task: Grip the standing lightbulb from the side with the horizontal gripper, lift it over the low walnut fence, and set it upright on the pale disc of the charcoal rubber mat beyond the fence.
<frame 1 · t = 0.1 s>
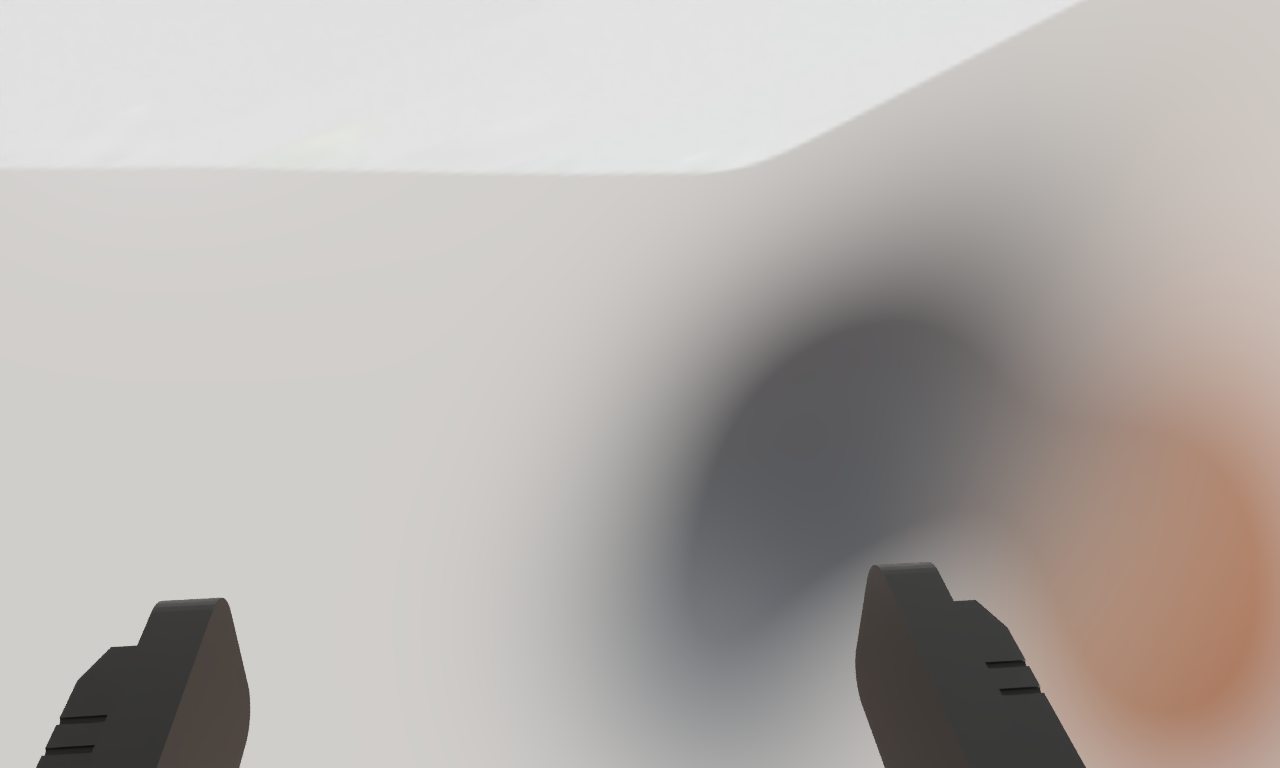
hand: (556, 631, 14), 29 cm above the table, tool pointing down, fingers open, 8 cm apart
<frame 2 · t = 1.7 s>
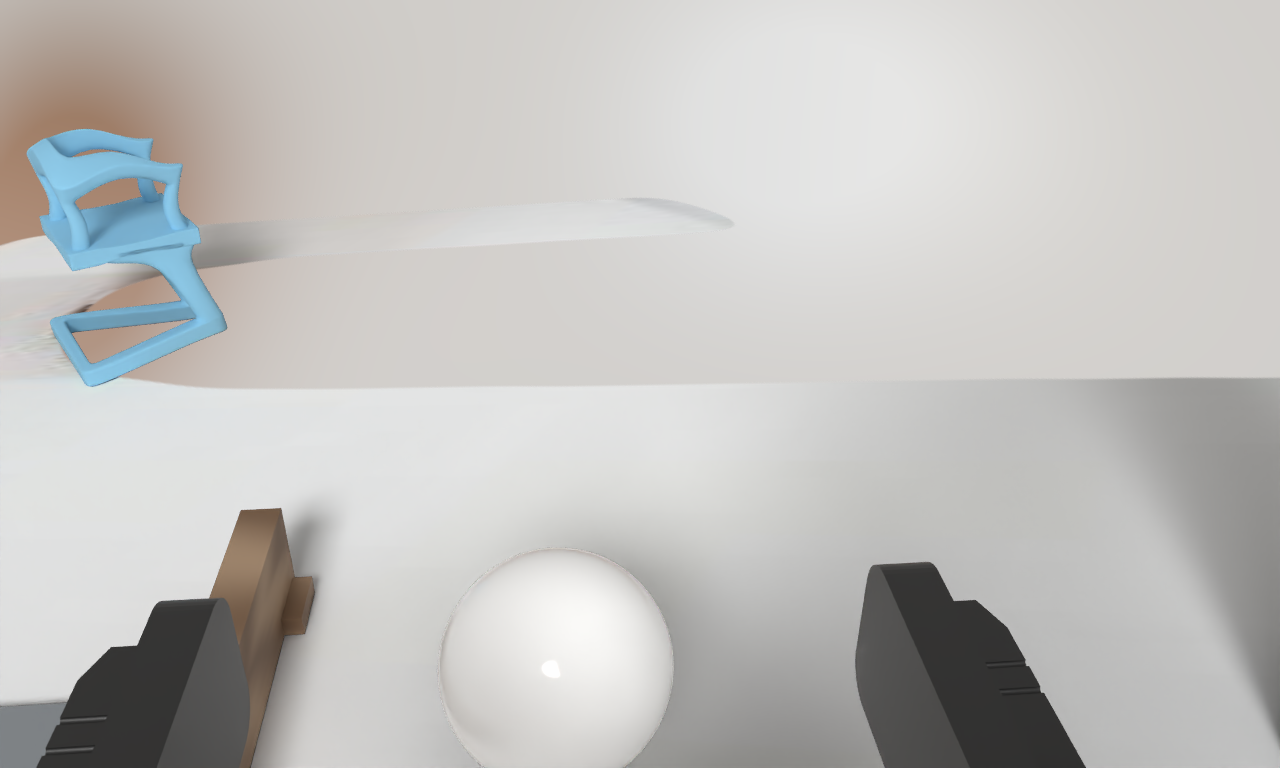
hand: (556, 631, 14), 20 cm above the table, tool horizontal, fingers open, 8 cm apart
chair: (147, 342, 61), on the table
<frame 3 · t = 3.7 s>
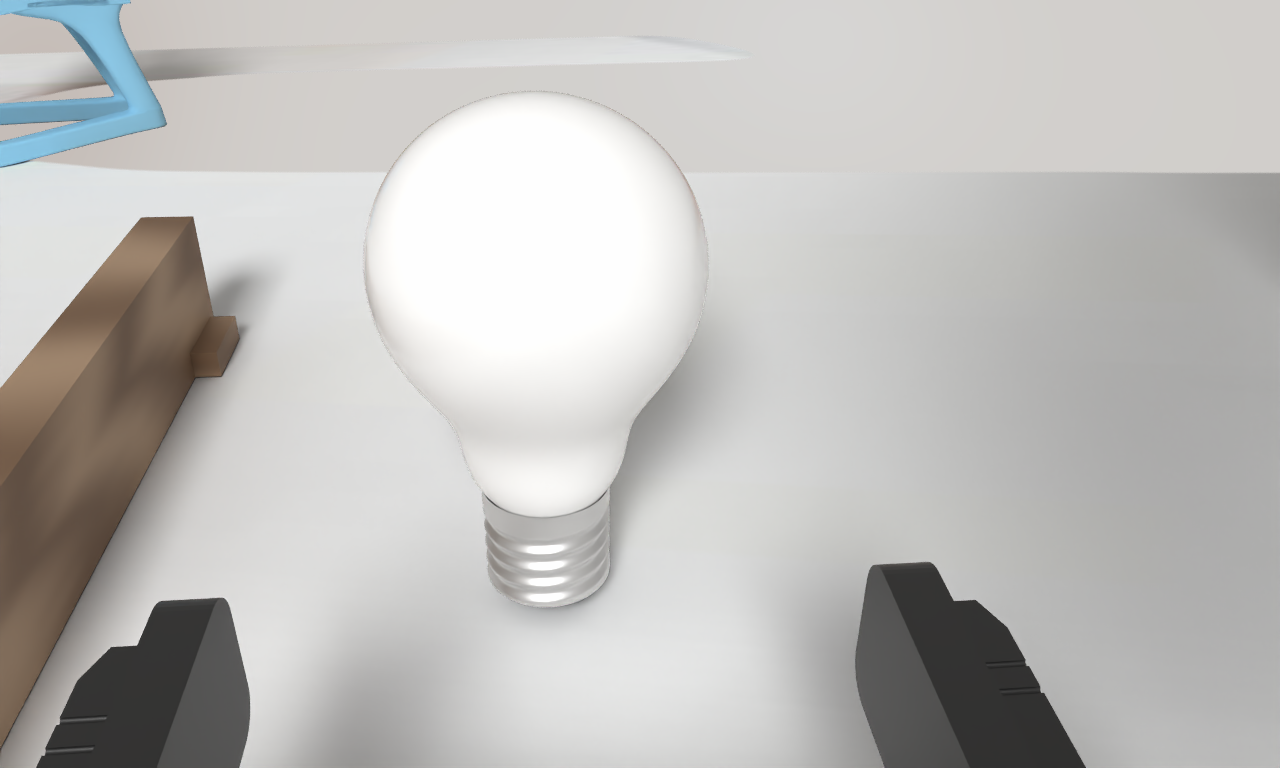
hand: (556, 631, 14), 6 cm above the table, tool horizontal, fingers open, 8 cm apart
walnut fence: (33, 616, 23), on the table
lightbulb: (550, 596, 24), on the table
chair: (72, 136, 52), on the table
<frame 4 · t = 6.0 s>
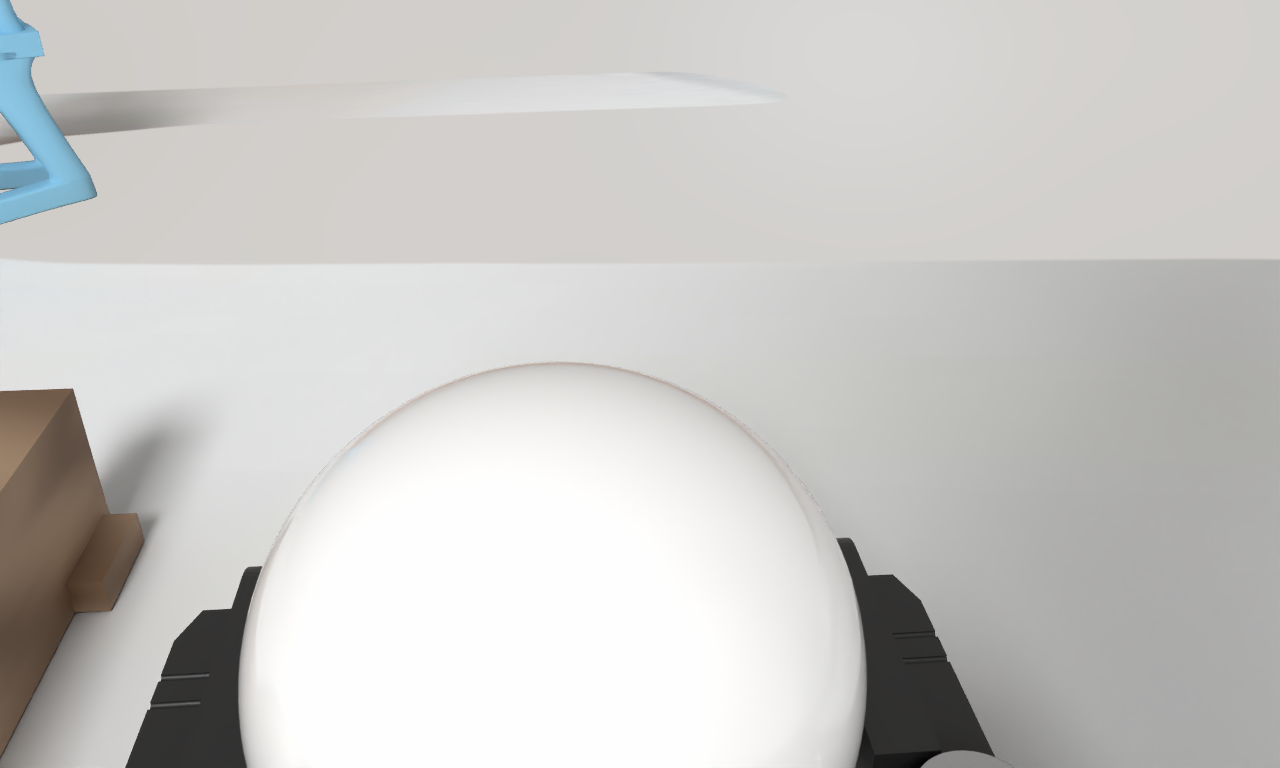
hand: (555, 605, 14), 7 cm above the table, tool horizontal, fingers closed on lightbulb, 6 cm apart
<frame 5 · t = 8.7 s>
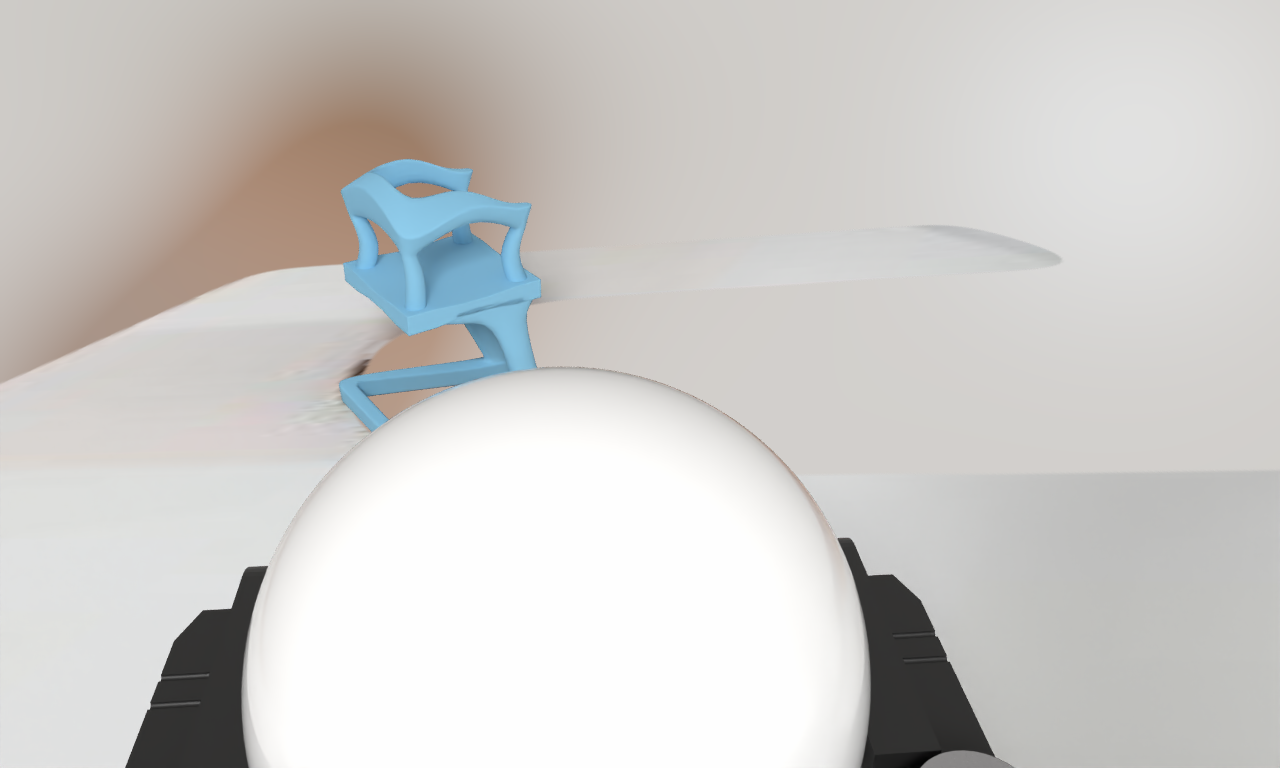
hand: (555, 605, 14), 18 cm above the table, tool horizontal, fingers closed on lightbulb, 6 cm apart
chair: (453, 409, 52), on the table
when the fingers open (8 cm above the table, at t = 11.4 s): lightbulb stays where it is, resting on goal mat.
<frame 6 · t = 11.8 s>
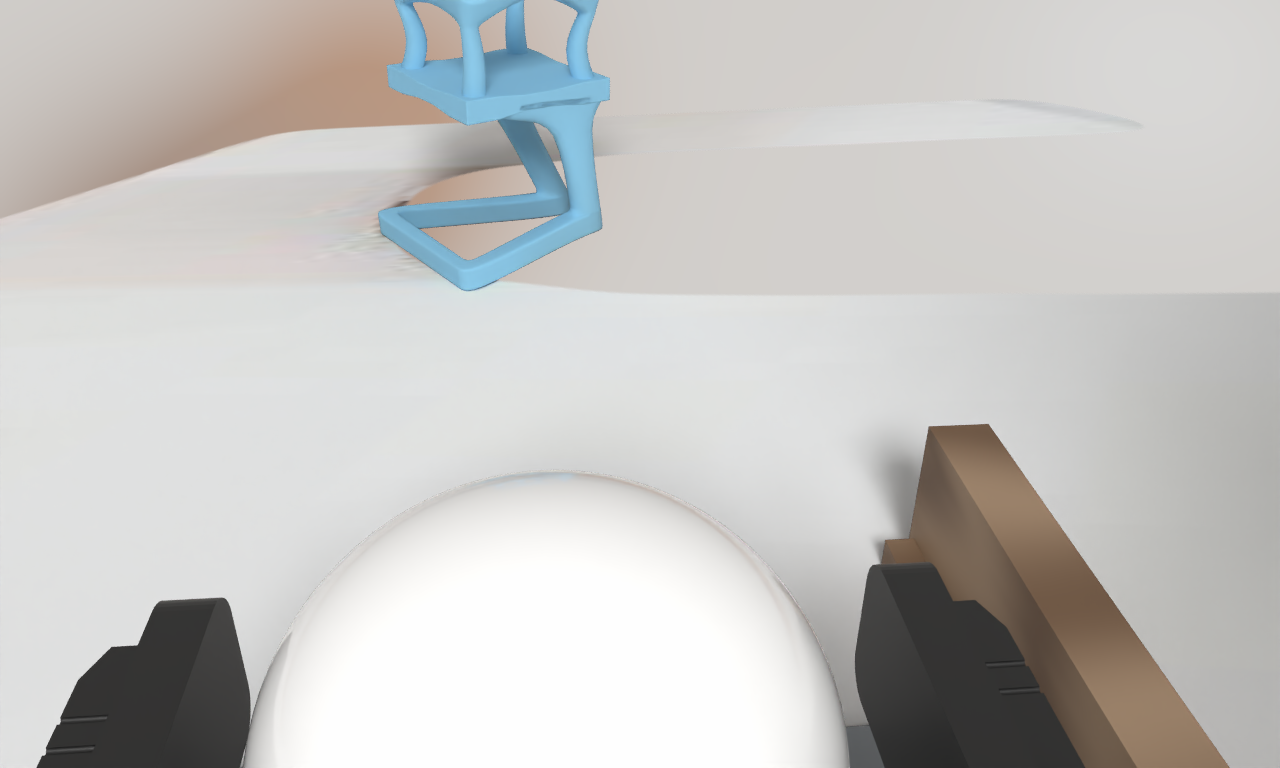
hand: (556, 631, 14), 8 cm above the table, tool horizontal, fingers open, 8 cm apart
chair: (505, 242, 46), on the table
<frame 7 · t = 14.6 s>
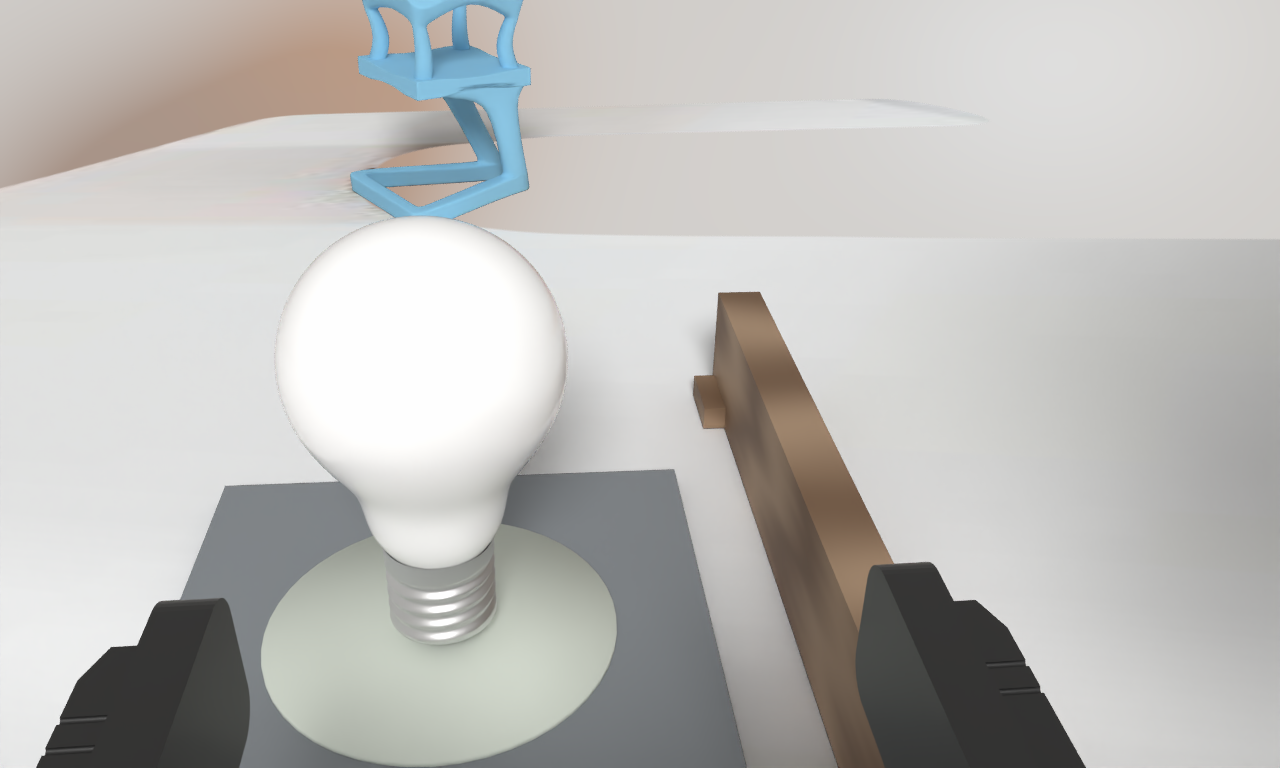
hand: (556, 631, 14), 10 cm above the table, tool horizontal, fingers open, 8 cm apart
walnut fence: (818, 624, 29), on the table
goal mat: (444, 643, 28), on the table
lightbulb: (445, 633, 28), resting on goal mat
chair: (451, 198, 59), on the table
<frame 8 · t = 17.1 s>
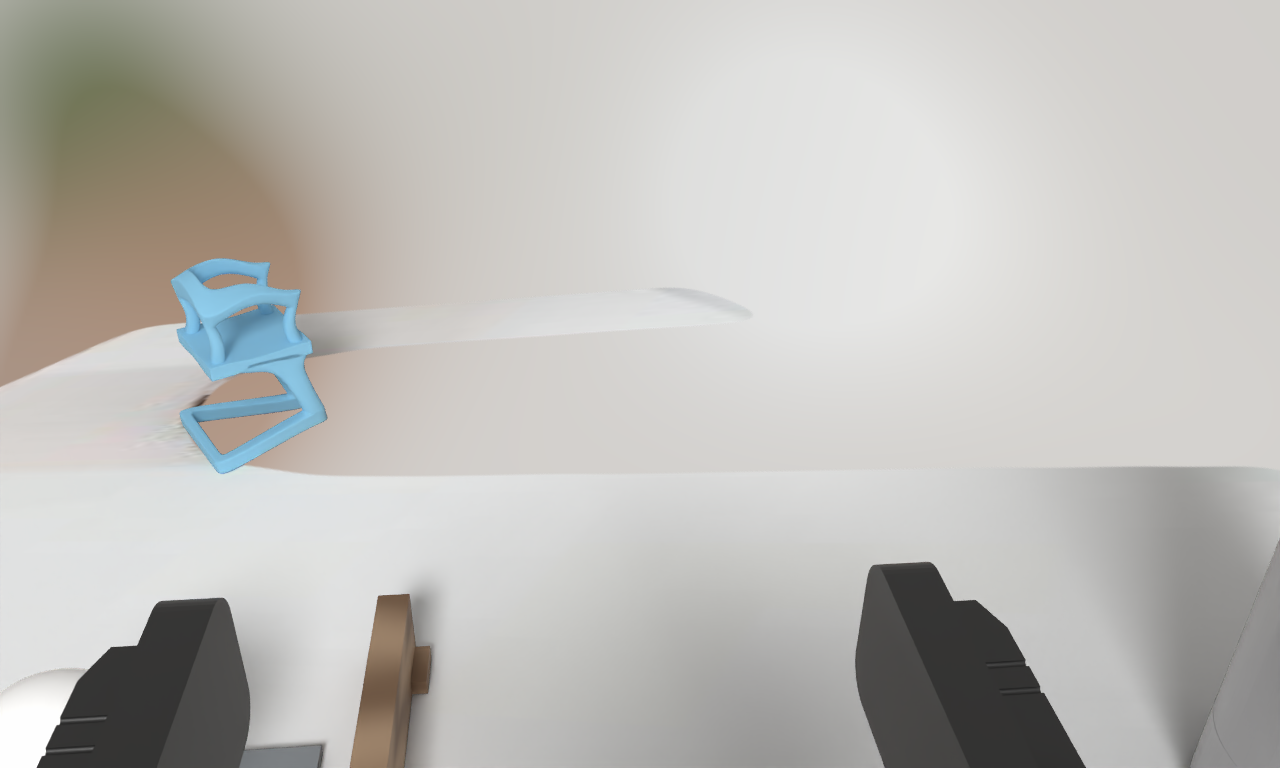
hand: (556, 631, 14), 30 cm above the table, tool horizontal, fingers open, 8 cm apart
chair: (261, 430, 73), on the table
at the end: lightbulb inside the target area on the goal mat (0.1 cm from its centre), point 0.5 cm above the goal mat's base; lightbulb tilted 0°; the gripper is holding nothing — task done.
